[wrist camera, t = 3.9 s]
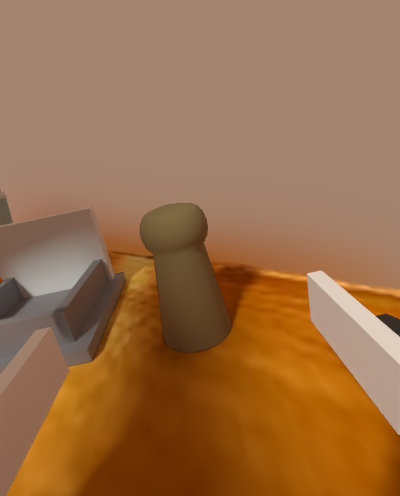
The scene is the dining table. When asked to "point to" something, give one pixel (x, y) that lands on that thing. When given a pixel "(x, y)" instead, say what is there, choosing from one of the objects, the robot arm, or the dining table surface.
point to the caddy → (56, 284)
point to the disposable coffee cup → (4, 210)
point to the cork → (185, 278)
